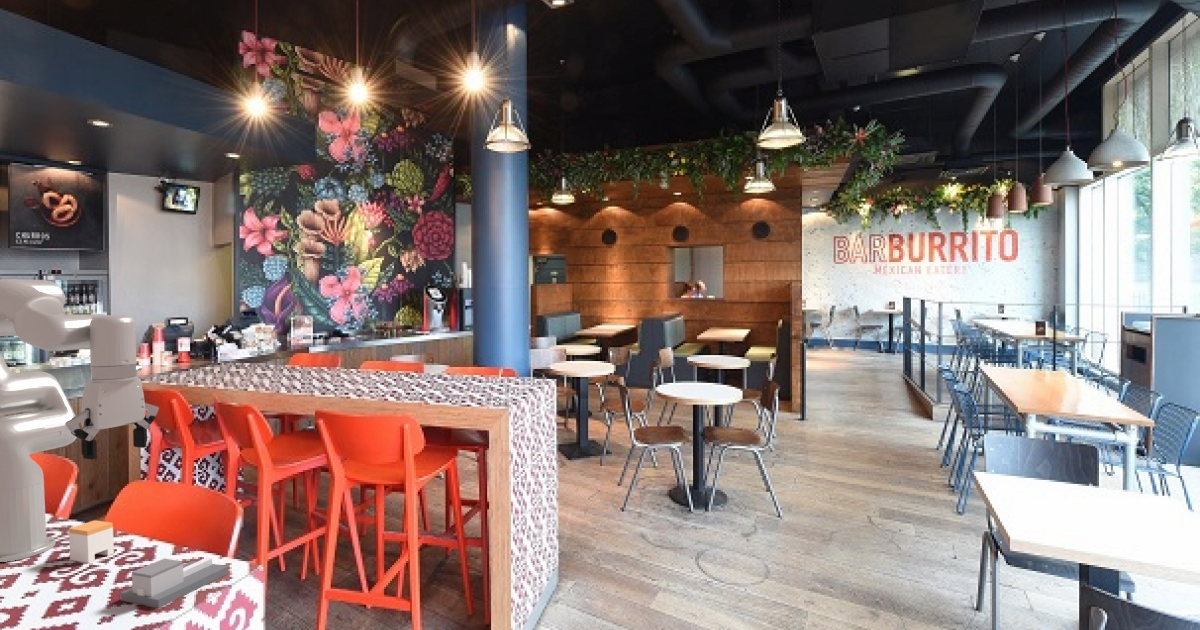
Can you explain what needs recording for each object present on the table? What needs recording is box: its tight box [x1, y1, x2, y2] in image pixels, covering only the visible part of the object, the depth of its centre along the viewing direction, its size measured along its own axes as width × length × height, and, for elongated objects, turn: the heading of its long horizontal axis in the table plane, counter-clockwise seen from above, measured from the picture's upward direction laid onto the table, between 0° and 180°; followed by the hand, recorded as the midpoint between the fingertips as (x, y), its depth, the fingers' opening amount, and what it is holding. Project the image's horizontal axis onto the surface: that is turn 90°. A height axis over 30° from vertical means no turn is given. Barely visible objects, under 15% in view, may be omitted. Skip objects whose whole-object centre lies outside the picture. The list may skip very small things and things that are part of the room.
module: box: [68, 520, 115, 564], centre depth 129 cm, size 5×6×7 cm
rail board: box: [120, 557, 229, 609], centre depth 115 cm, size 10×14×6 cm
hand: (115, 452), depth 124 cm, fingers open, 9 cm apart
